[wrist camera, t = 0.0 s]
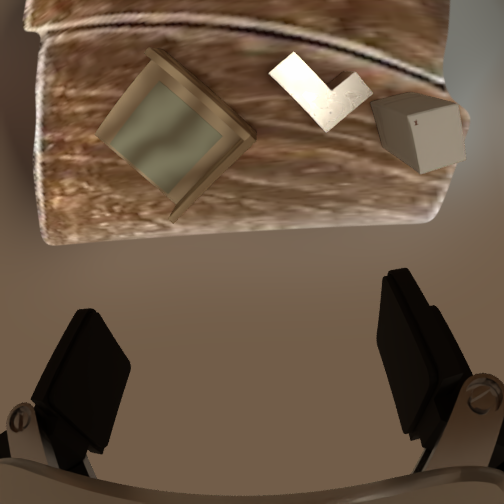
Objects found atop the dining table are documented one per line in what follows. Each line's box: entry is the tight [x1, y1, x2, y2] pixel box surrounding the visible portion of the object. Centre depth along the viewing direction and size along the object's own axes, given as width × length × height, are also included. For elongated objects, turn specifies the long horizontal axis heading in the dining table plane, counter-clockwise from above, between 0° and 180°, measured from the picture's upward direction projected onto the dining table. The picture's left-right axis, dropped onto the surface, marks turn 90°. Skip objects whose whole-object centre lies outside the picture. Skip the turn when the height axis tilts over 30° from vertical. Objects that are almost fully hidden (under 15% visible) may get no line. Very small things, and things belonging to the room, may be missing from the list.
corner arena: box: [95, 47, 257, 224], centre depth 39 cm, size 18×16×6 cm
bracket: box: [268, 52, 373, 133], centre depth 35 cm, size 10×8×6 cm
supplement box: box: [370, 92, 466, 174], centre depth 34 cm, size 7×7×13 cm
